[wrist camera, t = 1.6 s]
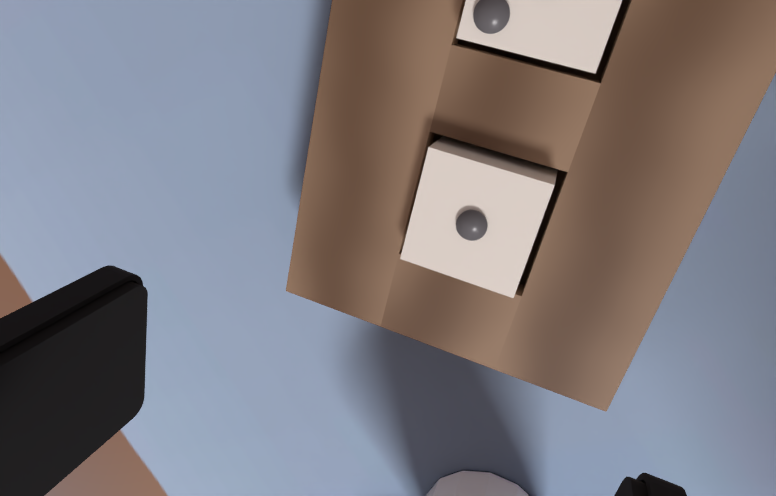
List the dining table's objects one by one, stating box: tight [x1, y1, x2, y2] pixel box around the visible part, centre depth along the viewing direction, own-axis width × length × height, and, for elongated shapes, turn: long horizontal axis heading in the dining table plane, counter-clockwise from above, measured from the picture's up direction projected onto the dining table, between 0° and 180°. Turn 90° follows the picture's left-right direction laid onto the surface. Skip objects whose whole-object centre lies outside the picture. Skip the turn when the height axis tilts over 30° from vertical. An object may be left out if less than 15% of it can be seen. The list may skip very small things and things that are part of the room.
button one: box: [400, 136, 558, 298], centre depth 21 cm, size 4×4×3 cm
